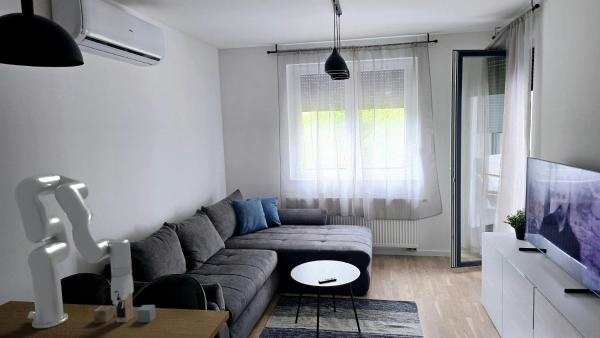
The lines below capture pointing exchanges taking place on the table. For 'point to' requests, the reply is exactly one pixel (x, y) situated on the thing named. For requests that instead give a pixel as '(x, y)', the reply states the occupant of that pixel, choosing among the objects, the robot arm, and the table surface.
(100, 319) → the tan cube
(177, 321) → the table surface
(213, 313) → the table surface
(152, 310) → the grey cube
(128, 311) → the box
